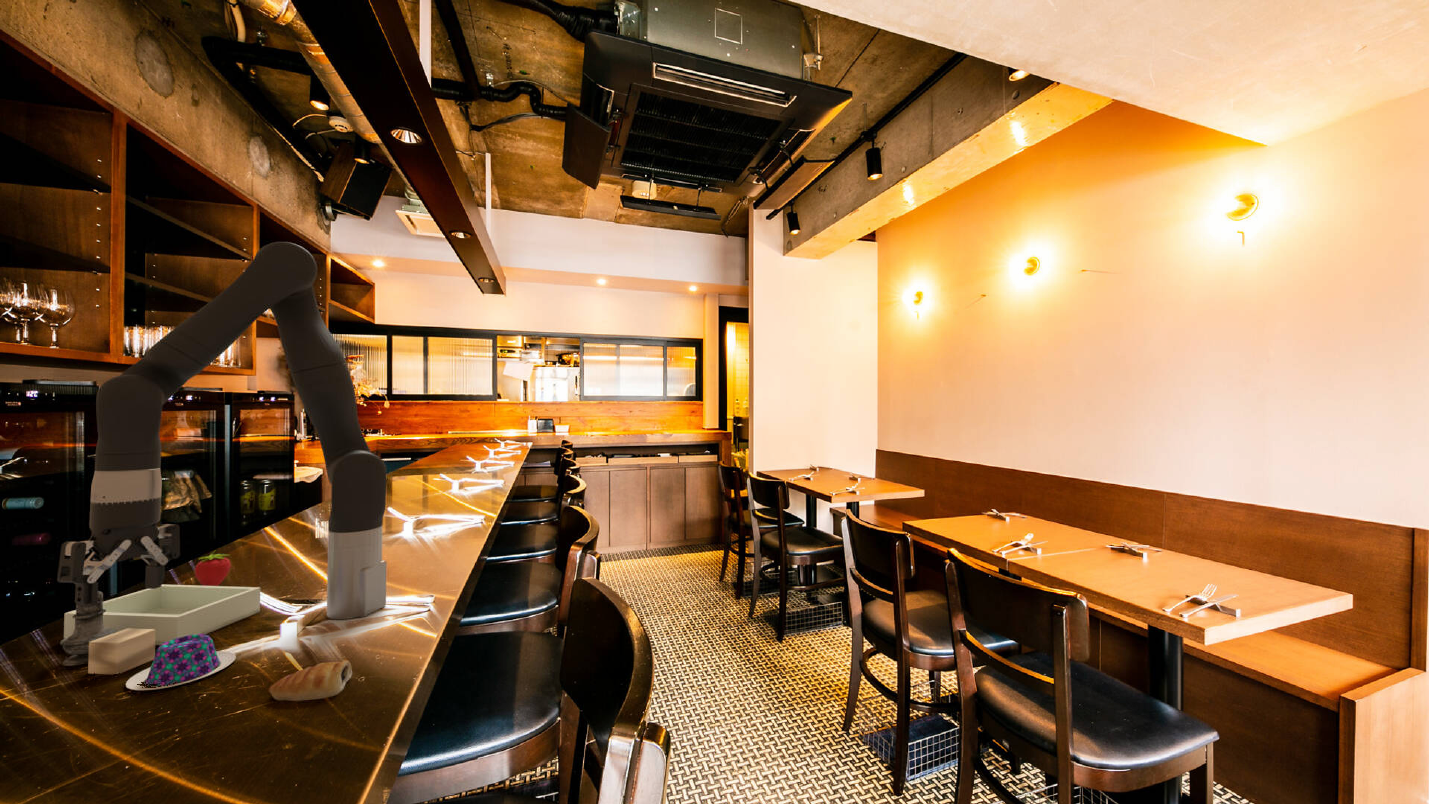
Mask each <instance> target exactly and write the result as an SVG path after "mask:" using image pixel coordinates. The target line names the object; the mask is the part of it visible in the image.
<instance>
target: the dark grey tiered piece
mask: <svg viewBox="0 0 1429 804" xmlns="http://www.w3.org/2000/svg"><path fill="white" fill-rule="evenodd" d="M103 602H104V593H103V592H102V591H99V590H98V597H97V605H96V606H93V607H89V608H85V607H79V605H76V604H75V610H76V614H75V615H73V616H72V618H75V629H74V632H73V634H72V635H71V636H70V637H68V638H65V639H64V638H63V639H62V640H61V641H60V642H59V644H60V645H61V646H62V649H63V650H64V652H65V653H66V654H69V655H71V656H69V657H68V658H66V659H65V660H63V661H62V665H63V666H68V667H69V666H72V667H73V666H79V665H83V664H88V662H89V642H91V641H94V640H96V639H99V638H102V637H105V636H108V635H111V634H113V633H115V632H116V630H115V629H107V628H105V627H104V624H103V613H104V612H106V610H105V609H103Z"/></svg>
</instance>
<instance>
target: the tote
mask: <svg viewBox="0 0 1429 804" xmlns="http://www.w3.org/2000/svg"><path fill="white" fill-rule="evenodd" d="M103 609H105V610H106V612H104V613H103V624H104V627H105V628H107V629H115V630H116V632H119V631H122V630H125V629H128V628H132V629H155V646H160V645H162V644H163V643H166V642H169V641H170V640H172V639H176V638H180V637H184V636H188V635H198V634H205V635H207V634H209V633H211V632H214V631H217V630H219V629H221V628H223V627H226V626H228V625H229V626H230V625H231V624H234V623H236V622H239V621H241V620H243V619H246V618H248V617H251V616H253V615H256V614H258V613H260V612H261V587H253V586H226V585H225V586H223V585H221V586H220V585H218V586H203V585H193V584H191V585H187V584H163V583H162V585H161V587H159V588H156V589H147V588H145V589H141V590H138V591H136V592H132V593H128V594H125V595H122V596H119V597H115V598H111V599H108V600H105V601H104V600H103ZM75 614H76V609H75V610H71V611H68V612H65V613H64V618H63V619H64V621H63V626H64V627H63V640H64V639H65V638H68V637H70V636H71V635H72V634H73V632H74V629H75V618H72V616H73V615H75ZM116 632H115V633H116Z"/></svg>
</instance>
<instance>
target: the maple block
mask: <svg viewBox="0 0 1429 804" xmlns="http://www.w3.org/2000/svg"><path fill="white" fill-rule="evenodd" d="M155 654H156V645H155V629H132V628H128V629H125V630H122V631H119V632H116V633H113V634H111V635H108V636H105V637H102V638H99V639H96V640H94V641H91V642H89V662H88V663H87V664H88V666H87V669H88V670H87V673H88V674H92V675H94V673H95V675H97V674H98V675H113V674H118V675H120V674H122V673H125V672H127V671H129V670H132V669H134V668H136V667H139V666H142V665H144V664H146V663H149V662H151V661H153V660H154V657H155ZM119 673H120V674H119Z"/></svg>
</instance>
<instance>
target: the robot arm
mask: <svg viewBox="0 0 1429 804" xmlns="http://www.w3.org/2000/svg"><path fill="white" fill-rule="evenodd" d="M317 275H318V266H317V262H316V260H315V258H314V256H313V255H312V254H311V253H310V251H308V250H307V249H305V248H304V247H303V246H301V245H298V244H296V243H292V242H288V241H275V242H271V243H269V244H266V245H263V246H262V247H261V248H260V249H259V250H258V251H257V252H256V253H255V255H254V257H253V259H252V261H251V262H250V263H249V264H248V266H247V267H246V268H245V269H244V271H243V272H242V273H241V274H240V275H239V276H238V277H237V278H236V279H235V280H234V281H233V282H232V283H231V284H230V285H229V286H228V287H226V288H225V289H224V290H223V291H222V292H221V293H220V294H218V295H217V296H216V297H214V298H213V299H212V300H210V301H209V302H208V303H207V304H205V305H204V306H202V307H201V308H199V309H198V310H197V311H196V312H194V313H192V315H189V316H188V317H187V318H186V319H184V320H183V321H182V322H181V323H180V324H178V325H177V326H176V327H174V328H173V329H172V330H171V331H170V332H168V333H167V334H165V335H164V336H163V337H162V338H161V339H159V340H158V341H157V342H155V344H154V345H152V347H151V348H149V350H148V351H147V353H145V355H144V356H143V357H141V359H139V360H138V361H136V362H135V363H133V365H131V366H130V367H128V369H125V371H124V372H122V373H120V374H119V375H117V376H114V377H112V378H110V379H109V378H108V379H107V380H106V381H104V382H103V383H102V384H101V385H100V387H99V388H98V390H97V393H96V404H95V405H96V406H95V407H96V408H95V409H96V426H97V433H98V434H97V435H98V438H97V443H96V447H95V448H96V449H95V455H94V457H95V459H94V474H93V478H92V481H91V489H90V506H89V507H90V508H89V509H90V510H89V529H90V531H91V536H90V538H89V539H87V540H84V541H83V540H82V541H65V542H63V543H62V544H61V548H60V555H59V561H58V562H59V563H58V570H57V576H56V577H57V578H56V581H57V582H58V583H70V584H72V583H73V584H74V585H75V592H74V593H75V595H74V603H75V606H76V605H79V607H85V608H89V607H93V606H96V605H97V597H98V591H99V582H98V581H97V580H98V579H99V578H100V577H101V576H102V574H104V572H105V571H106V570H108V569H110V568H111V567H112V566H113V565H114V564H115V563H119V562H123V561H126V560H129V559H137V558H141V559H142V560H143V561H144V562H145V563H146V564H147V565H146V566H145V582H144V583H145V584H144V588H145V589H156V588H159V587H161V585H162V584H163V583H164V582H165V576H166V575H165V573H166V565H167V564H168V562H170V561H172V560H174V559H178V558H179V557H180V555H181V540H180V539H181V538H180V530H181V529H180V525H179V524H171V523H170V524H169V523H165V524H164V523H163V524H161V525H159V526H157V524H158V523H159V522H160V520H161V512H162V511H161V508H162V486H163V481H162V480H163V479H162V475H161V474H162V473H161V467H162V466H161V464H162V463H161V460H162V444H161V438H160V430H161V421H162V412H163V405H165V403H167V402H168V401H169V400H170V398H172V397H173V396H174V395H175V394H176V393H177V392H178V391H179V390H180V389H181V388H182V387H183V386H184V385H185V384H186V383H187V382H188V381H189V380H191V379H192V378H194V377H195V376H197V375H198V374H199V373H201V372H202V371H204V370H205V369H206V368H207V367H208V366H209V365H211V363H213V362H214V361H215V360H216V359H217V358H219V357H220V356H221V355H222V354H224V352H225V351H227V350H228V349H229V347H231V346H232V345H233V344H234V343H235V342H236V341H237V340H238V339H239V338H240V337H241V336H242V334H244V332H246V330H247V329H248V328H249V327H250V326H251V325H252V324H253V323H254V322H255V321H256V320H258V319H259V318H260V317H261V316H262V315H264V314H265V313H266V312H267V311H268V310H270V312H271V313H272V314H271V315H273V318H274V320H275V323H276V325H277V329H278V332H279V338H280V343H281V346H282V350H283V353H284V357H285V361H286V363H287V366H288V370H289V373H290V376H291V378H292V381H293V383H294V387H295V390H296V391H297V395H298V396H299V399H300V401H301V404H302V406H303V407H304V410H305V412H306V414H307V416H308V417H309V420H310V422H311V424H312V425H313V428H314V429H315V431H316V434H317V437H318V439H319V443H320V446H321V451H322V454H323V458H324V460H323V461H324V464H325V469H326V474H327V475H326V476H327V479H328V481H329V483H330V485H331V501H330V502H331V504H330V505H331V506H330V507H331V508H330V512H329V517H328V529H327V530H328V531H327V532H328V533H327V537H328V538H327V573H326V574H327V581H326V582H327V584H326V617H327V618H329V619H332V620H345V619H346V620H347V619H353V618H360V617H362V618H363V617H367V616H368V615H370V614H372V613H374V612H376V611H378V610H379V609H382V608H383V606H384V607H385V606H387V568H388V567H387V566H388V565H387V564H388V563H387V561H386V560H383V527H384V523H383V522H384V521H383V520H384V514H385V512H386V505H387V502H386V500H387V483H388V482H387V477H388V476H387V475H388V474H387V466H386V464H385V462H384V461H383V460H382V458H380V456H378V455H377V454H374V453H372V451H371V449H370V447H369V445H368V442H367V441H366V439H365V436H364V433H363V432H362V429H361V426H360V423H359V417H358V407H357V398H356V392H355V386H354V383H353V382H354V381H353V379H352V376H351V373H350V370H349V367H348V364H347V361H346V359H345V357H344V354H343V352H342V350H341V348H340V346H339V344H338V343H337V341H336V339H335V338H334V336H333V335H332V334H331V333H332V332H330V330H329V328H328V327H327V326H326V324H325V322H324V320H323V318H322V316H321V313H320V310H319V306H318V303H317V298H316V295H315V289H314V286H313V285H314V284H313V283H314V282H315V281H316V278H317ZM157 538H158V541H159V543H158V544H159V546H158V545H156V543H155V541H156V540H157ZM90 551H92V552H91V553H90ZM89 553H90V555H89V556H88V557H87V558H86V555H87V554H89Z"/></svg>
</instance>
